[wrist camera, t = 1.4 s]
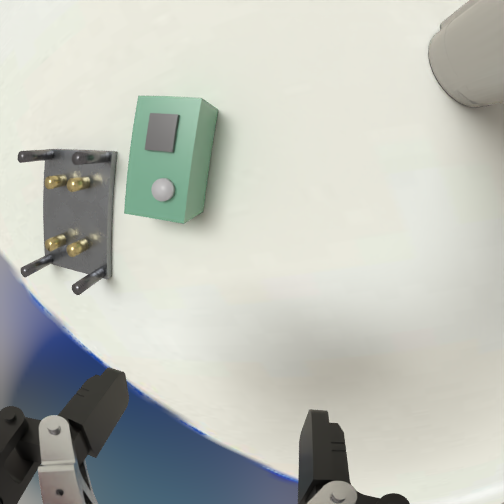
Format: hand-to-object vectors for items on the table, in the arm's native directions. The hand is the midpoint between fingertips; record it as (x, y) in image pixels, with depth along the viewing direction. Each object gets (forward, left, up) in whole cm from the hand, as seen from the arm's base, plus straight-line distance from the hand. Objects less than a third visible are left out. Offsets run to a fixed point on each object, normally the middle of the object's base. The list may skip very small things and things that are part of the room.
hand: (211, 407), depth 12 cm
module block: (-9, -9, -20) cm, 24 cm away
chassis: (-2, -21, -20) cm, 29 cm away
